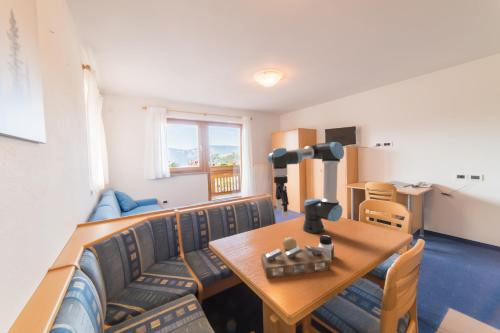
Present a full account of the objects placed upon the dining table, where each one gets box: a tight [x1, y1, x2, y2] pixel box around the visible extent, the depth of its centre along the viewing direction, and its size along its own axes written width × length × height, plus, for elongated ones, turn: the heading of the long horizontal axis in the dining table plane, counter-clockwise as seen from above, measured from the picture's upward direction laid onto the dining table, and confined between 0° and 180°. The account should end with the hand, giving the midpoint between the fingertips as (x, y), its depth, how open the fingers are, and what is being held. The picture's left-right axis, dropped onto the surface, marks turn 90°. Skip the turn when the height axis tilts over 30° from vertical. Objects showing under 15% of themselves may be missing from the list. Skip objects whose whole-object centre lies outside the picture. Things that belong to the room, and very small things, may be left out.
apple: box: [282, 236, 297, 251], centre depth 120 cm, size 8×8×8 cm
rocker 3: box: [304, 244, 322, 254], centre depth 102 cm, size 8×3×2 cm, turn 98°
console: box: [260, 248, 331, 279], centre depth 101 cm, size 32×13×6 cm, turn 97°
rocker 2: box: [285, 245, 303, 258], centre depth 100 cm, size 8×3×2 cm, turn 97°
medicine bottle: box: [317, 234, 335, 263], centre depth 108 cm, size 7×7×12 cm
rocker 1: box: [265, 248, 283, 261], centre depth 99 cm, size 8×3×2 cm, turn 97°
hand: (282, 213), depth 110 cm, fingers open, 13 cm apart
